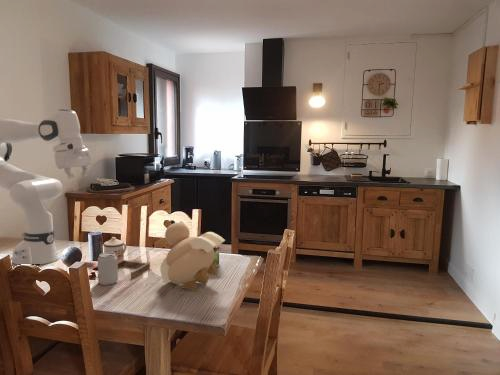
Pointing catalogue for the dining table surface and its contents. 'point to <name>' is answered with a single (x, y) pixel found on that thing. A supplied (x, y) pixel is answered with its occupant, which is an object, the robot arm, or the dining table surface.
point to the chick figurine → (189, 256)
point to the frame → (140, 265)
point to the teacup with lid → (115, 248)
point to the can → (107, 268)
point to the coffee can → (216, 251)
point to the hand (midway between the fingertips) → (77, 177)
